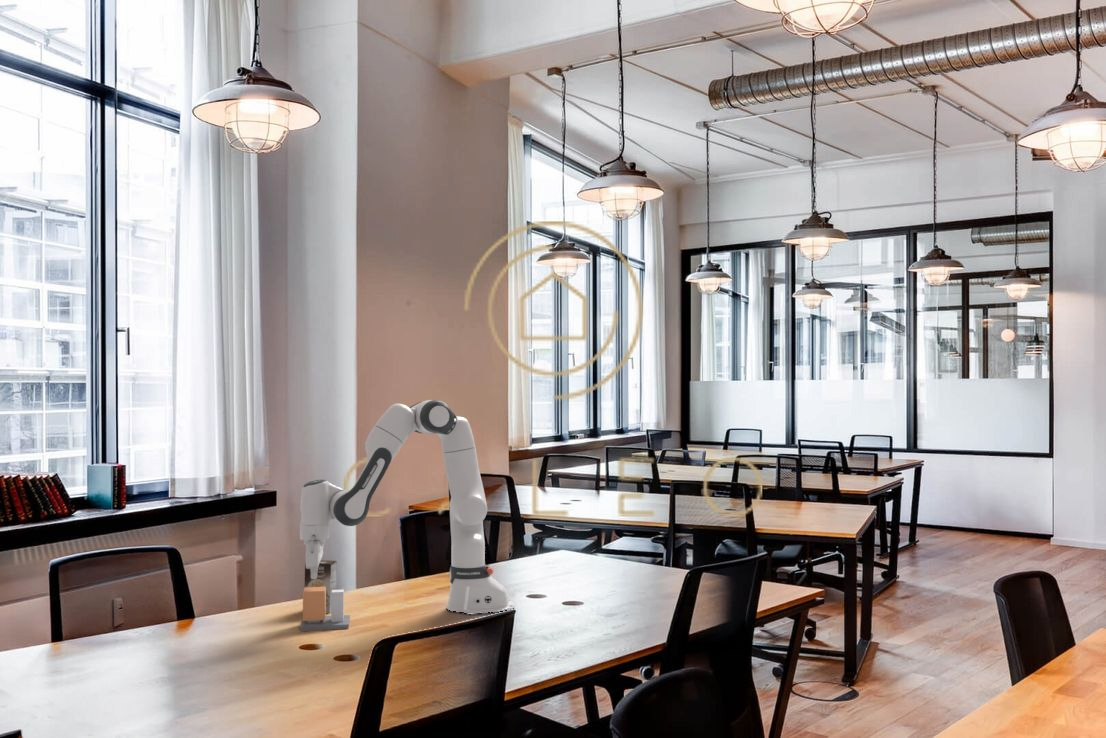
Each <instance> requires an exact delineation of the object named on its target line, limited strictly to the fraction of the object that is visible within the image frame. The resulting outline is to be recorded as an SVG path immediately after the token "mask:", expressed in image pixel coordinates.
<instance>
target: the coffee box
mask: <svg viewBox="0 0 1106 738" xmlns="http://www.w3.org/2000/svg"><path fill="white" fill-rule="evenodd" d="M337 562H338V561H337V560H325V559H323V560H322V559H321V561H320V564H319V566H318V576H317V578H316V579H311V571H310V569H307V568H306V562H305V563H304V588H305V587H326V614H331V592H332V590H337V567H338V563H337Z"/></svg>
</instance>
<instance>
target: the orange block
mask: <svg viewBox="0 0 1106 738" xmlns="http://www.w3.org/2000/svg"><path fill="white" fill-rule="evenodd" d="M325 616H327V613H326V587H305V586H304V589H303V591H302V622H303V621H314V620H325Z"/></svg>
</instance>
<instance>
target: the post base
mask: <svg viewBox="0 0 1106 738" xmlns="http://www.w3.org/2000/svg"><path fill="white" fill-rule="evenodd" d="M344 607H345V589H344V588H343V589H336V590H332V592H331V613H330V615H326V616H325V620H320V622H319V623H308V621H303V620H302V622H301V624H300V631H301V632H304V631H307V632H308V631H323V630H325V631H327V630H346V629H349V626H350V621H351V615H350V614H345V608H344Z"/></svg>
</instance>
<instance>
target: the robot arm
mask: <svg viewBox="0 0 1106 738" xmlns="http://www.w3.org/2000/svg"><path fill="white" fill-rule="evenodd" d="M470 424H471V423H470V422H469V421H468V419H467V418H466V417H463V416H459V415H456V414H455V413H454V411H452V409H451V408H450V406H449V405H448V404H447V403H446V402H444V401H442V400H440V399H439V400H438V399H427V400H424V401H420V402H417V403H415V404H413V405H411V406H408V405H406V404H403V403H393V404H392V405H391V406H389V407H388V408H387V409H386V410H385V412H384V413H383V414H382V415H381V416H380V417H379V419H378V420H377V421H376V423H375V424H374V425H373V427H372V428H371V431H370V432H369V433H368V436H367V438H366V440H365V443H364V448H365V449H364V450H365V453H366V463H365V466H364V468H363V470H362V471H361V473H360V474H359V476H358V478H357V479H356V481H355V483H354V485H353V486H352V487H351V488H350V489H345V488H342V487H339V486H337V485H334V484H333V483H331V482H330V481H328V480H327V479H315V480H311V481H308V482H306V483H304V485H303V486H302V488H301V493H300V504H299V505H300V506H299V510H300V514H301V515H300V516H301V517H300V522H299V539H300V540H301V541H303V545H305V546H306V547H305V563H306V568H307V569H310V571H311V579H316V578H317V576H318V566H319V564H320V561H321V560H322V558H323V555H324V548H325V544H326V540H328V539H329V538H330V521H331V520H337V521H338V522H339V523H341V524H342V525H344V526H347V527H354V526H357V525H359V524H361V523H362V522H364V520H365V519H366V518H367V515H368V513H369V510H370V505H371V504H370V503H371V500H372V497H373V495H374V494H375V491H376V490H377V488H378V486H379V484H380V482H381V481H382V479H383V477H384V475H385V474H386V472H387V470H388V468H389V467H390V465H391V464H392V462H393V460H394V458H395V457H396V456H397V455H398V453H399V452H400V450H401V449H402V447H403V445H404V444H405V442H406V441H407V439H408V437H409V436H410V435H411V434H412V433H413V432H415V433H418V434H424V435H433V434H435V435H437V436H438V438H439V439H440V443H441V450H442V455H443V457H442V458H443V464H444V469H445V476H446V480H447V485H448V489H449V493H450V500H449V523H450V526H449V527H450V536H451V538H450V540H451V541H450V543H451V546H450V547H451V548H450V549H451V552H450V553H451V555H450V556H451V559H450V560H451V561H450V562H451V565H449V582H450V588H449V593H448V594H449V595H448V596H449V597H448V601H447V604H446V608H447V609H448V611H449V610H450V612H453V611H456V612H455V613H459V612H464V613H480V612H484V613H483V614H489V613H488V612H490V613H491V612H493V613H500V611H498V610H501V611H503V612H506V611H505V610H509V609H513V608H514V607H515V603H514V601H512V600H510V599H509V598H508V592H507V589H506V588H505V586H504V585H503V584H501V583H500V582H499V581H498V580H496V579H495V578H494V577H493V576H491V575H492V574H493V573H494V569H493V568H492V567H490V566H488V565H487V564H486V561H485V559H486V558H485V557H486V556H485V554H486V552H485V551H486V546H485V545H486V541H485V532H484V520H485V518H486V516H487V513H488V504H487V499H486V494H485V489H484V485H483V480H482V477H481V472H480V467H479V461H478V454H477V449H476V448H477V447H476V443H475V437H474V434H473V430H472V427H471V425H470ZM510 607H512V608H510ZM447 609H446V610H447ZM502 609H504V610H502ZM514 609H515V608H514ZM514 609H513V610H514ZM464 613H463V614H464ZM491 614H492V613H491Z"/></svg>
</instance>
